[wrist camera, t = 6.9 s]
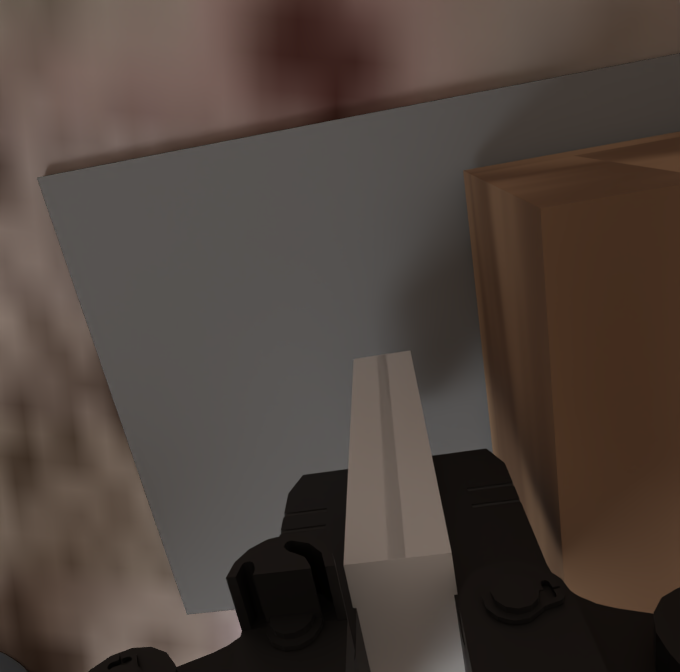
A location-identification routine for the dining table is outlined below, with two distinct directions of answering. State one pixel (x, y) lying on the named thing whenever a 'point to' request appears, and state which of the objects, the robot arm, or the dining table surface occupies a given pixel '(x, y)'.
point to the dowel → (10, 664)
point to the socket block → (587, 357)
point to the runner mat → (304, 290)
